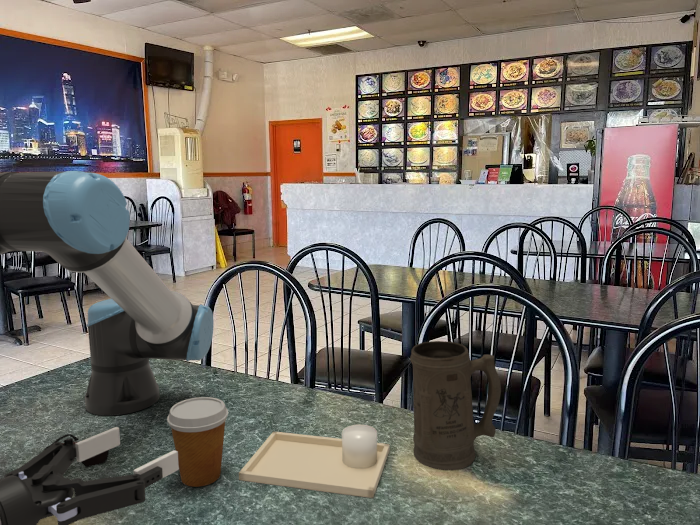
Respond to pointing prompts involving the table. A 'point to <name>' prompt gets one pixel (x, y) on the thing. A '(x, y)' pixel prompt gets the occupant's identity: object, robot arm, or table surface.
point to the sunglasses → (90, 461)
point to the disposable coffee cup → (198, 438)
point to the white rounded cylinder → (359, 446)
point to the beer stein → (449, 404)
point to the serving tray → (312, 465)
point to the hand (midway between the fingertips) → (146, 447)
